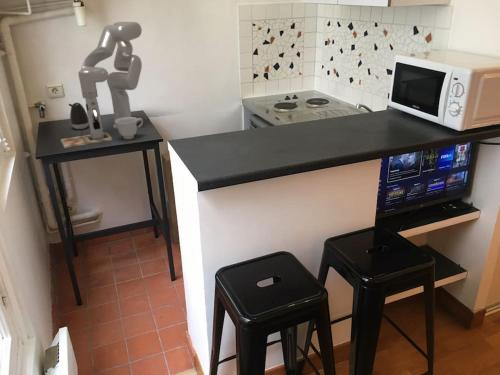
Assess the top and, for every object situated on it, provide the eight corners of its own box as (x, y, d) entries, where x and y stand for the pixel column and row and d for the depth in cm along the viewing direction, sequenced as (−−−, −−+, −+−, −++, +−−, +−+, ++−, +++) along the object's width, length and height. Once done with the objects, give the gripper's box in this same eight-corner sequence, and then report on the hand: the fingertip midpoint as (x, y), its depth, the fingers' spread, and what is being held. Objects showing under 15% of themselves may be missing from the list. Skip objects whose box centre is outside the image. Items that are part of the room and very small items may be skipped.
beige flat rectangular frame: (107, 134, 237) (106, 132, 237) (112, 139, 228) (111, 137, 227) (61, 141, 227) (60, 139, 226) (64, 148, 217) (63, 145, 216)
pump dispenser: (78, 125, 255) (74, 100, 249) (93, 126, 252) (89, 101, 246) (67, 130, 246) (62, 104, 240) (83, 131, 243) (78, 105, 237)
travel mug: (91, 141, 226) (84, 104, 218) (92, 137, 232) (85, 101, 223) (103, 140, 228) (97, 103, 219) (104, 136, 233) (98, 100, 225)
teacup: (147, 137, 230) (145, 119, 226) (120, 142, 223) (117, 124, 219) (141, 132, 240) (139, 114, 235) (115, 136, 233) (112, 119, 229)
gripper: (100, 96, 214) (106, 130, 222) (94, 90, 228) (99, 122, 236) (85, 98, 211) (91, 132, 219) (79, 92, 225) (85, 124, 232)
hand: (95, 127), depth 227 cm, fingers closed on travel mug, 6 cm apart
